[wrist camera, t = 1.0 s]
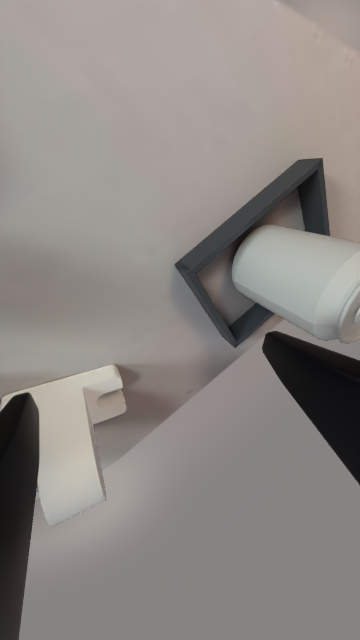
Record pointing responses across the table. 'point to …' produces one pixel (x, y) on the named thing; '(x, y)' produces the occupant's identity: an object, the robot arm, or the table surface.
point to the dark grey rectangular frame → (314, 213)
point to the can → (303, 279)
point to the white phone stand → (73, 439)
